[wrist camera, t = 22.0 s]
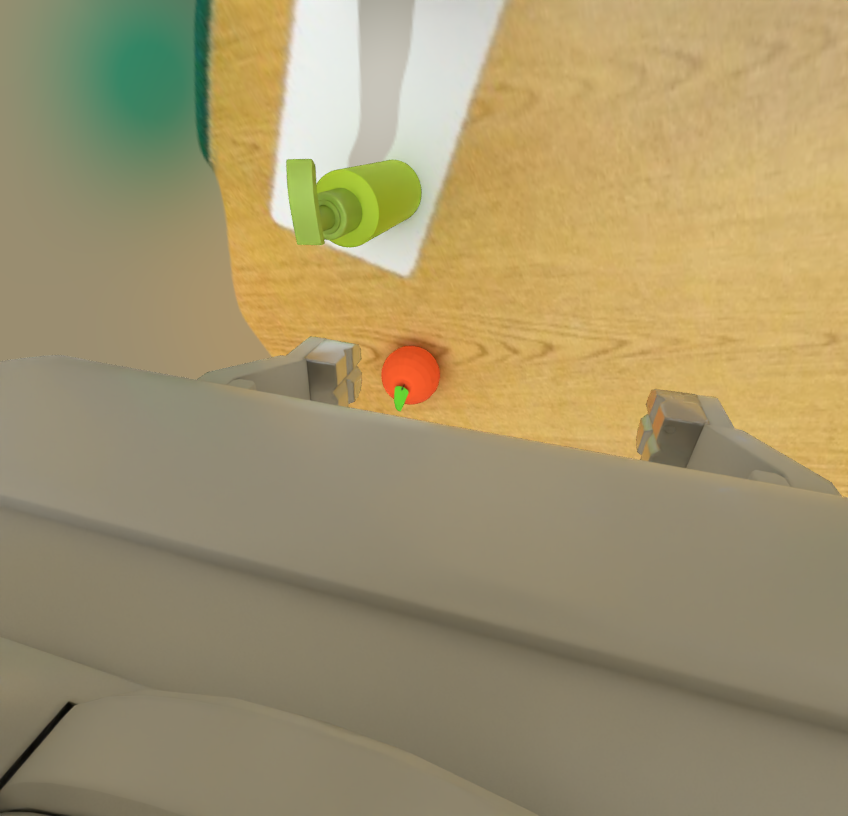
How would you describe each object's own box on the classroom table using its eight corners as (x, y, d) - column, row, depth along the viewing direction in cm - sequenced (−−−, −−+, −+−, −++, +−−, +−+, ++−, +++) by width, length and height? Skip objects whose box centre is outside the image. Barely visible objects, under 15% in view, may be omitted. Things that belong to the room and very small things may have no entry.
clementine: (436, 401, 60) (422, 431, 55) (386, 384, 61) (366, 412, 55) (451, 347, 56) (438, 372, 50) (397, 329, 57) (377, 353, 51)
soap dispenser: (420, 147, 46) (337, 158, 30) (422, 222, 50) (349, 269, 33) (364, 148, 47) (255, 160, 31) (370, 221, 51) (275, 266, 34)
